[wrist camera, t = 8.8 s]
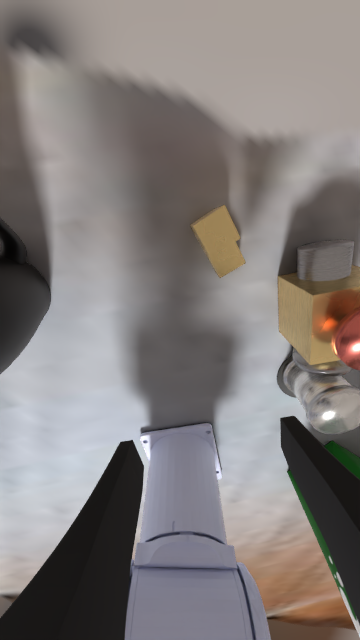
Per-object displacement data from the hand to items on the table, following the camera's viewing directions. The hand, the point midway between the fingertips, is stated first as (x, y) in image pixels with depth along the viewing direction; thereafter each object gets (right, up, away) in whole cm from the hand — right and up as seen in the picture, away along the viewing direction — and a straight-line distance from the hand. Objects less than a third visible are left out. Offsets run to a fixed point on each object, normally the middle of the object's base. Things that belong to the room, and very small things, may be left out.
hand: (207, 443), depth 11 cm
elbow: (+1, +12, +6) cm, 13 cm away
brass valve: (+9, +8, +7) cm, 14 cm away
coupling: (+11, +1, +10) cm, 15 cm away
